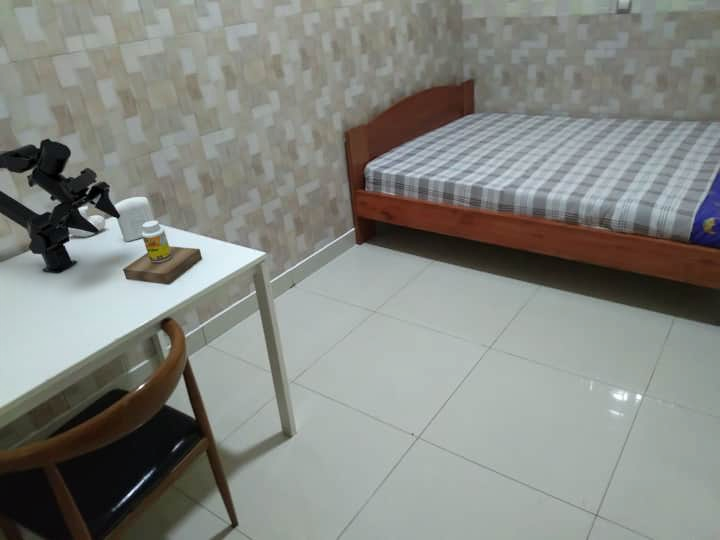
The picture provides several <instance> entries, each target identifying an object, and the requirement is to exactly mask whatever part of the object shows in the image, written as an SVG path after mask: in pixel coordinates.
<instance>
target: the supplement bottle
mask: <svg viewBox="0 0 720 540" xmlns="http://www.w3.org/2000/svg"><path fill="white" fill-rule="evenodd" d="M142 227H143V230H144V231H143V232H142V239H143V243H144V246H145V249H146V251H147V252H146V253H148V255H149V258H150V260H151V261H152V262H154V263H160V262H164V261H166V260H168V259H169V258H170V257H171V251H170V247H169V246H170V244H169V242H168V237H167V234H166V231H165V229H164V227H161V226H160V224H159V221H157V220H155V221H149V222H146V223H144V224H143V225H142Z"/></svg>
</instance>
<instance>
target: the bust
mask: <svg viewBox="0 0 720 540" xmlns="http://www.w3.org/2000/svg"><path fill="white" fill-rule="evenodd" d="M88 209H89V206H88V205H86V206H85V205H84V206H82V207H80V208H79V209H78V210H79V212H80V214H81V215H82V216H83V217H84V218H85V219H86V220H88V221H89V222H90V223H91V224H93V225H94V226H95V227H96V228H97V229H98V230H99V232H100V231H102V230H104V229H105V228H106V219H105V218H104V216H102V215H98V214H97V215H95V214H94V215H90V216H88V214H87V212H86V211H88ZM68 229H69V234H71V235H72V236H75V237H81V238H82V237H83V238H86V237H90V236H93V235H95V234H96V233H92V232H88V231H83V230H79V229H74V228H68Z"/></svg>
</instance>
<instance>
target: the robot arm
mask: <svg viewBox="0 0 720 540" xmlns="http://www.w3.org/2000/svg"><path fill="white" fill-rule="evenodd" d="M71 154H72V151H71V149H70V147H68V146H67V145H66V144H64V143H61V142H59V141H53V140H51V139H50V138H45V139H42V140H41V141H40V143H39V147H37V146H36V145H35V144H27V145H22V146H20V147H17V148H14V149H11V150H0V169H6V170H7V171H8V172H10V173H16V174H23V173H26V172H28V171H31V170H32V172H31V174H29V175H26V178H27V180H28V182H27V183H28V186H29V187H30V188H31V187H32V188H33V187H34V186H36V185H37V186H38V187H40V188H41V189H43V190H44V191H45V192H47V193H48V195H50V197H49V200H51V201H53V202H54V201H56V200H57V201H58V202H59V204H57V205H55V206H54V207H53V209H52V211H46V212H44V213H41V214H40V213H37V212H36V211H34V210H32V209H30V208H29V207H27V206H26V205H24V204H23V203H21V202H19V201H18V200H16V199H15V198H13V197H11V196H10V195H8V194H6V193H5V192H4V191H2V190H0V214H1V215H3V216H5V217H6V218H8V219H10V221H13V222H14V223H16V224H18V225H19V226H21V227H22V228H24V229H26V231H27V235H28V237H29V238H30V243H29V245H28V249H29V250H30V251H31V252H32V254H34V255H41V257H42V259H43V261H44V263H45V265H46V267H44V268H42V271H43V272H47V273H49V272H50V273H56V274H58V273H62V272H63V271H64V270H66V269H68V268H70V267H73V265H75V264H77V263H78V261H77V260H74V259H72V258H71V257H70V255H69V252H68V250H67V248H66V246H65V244H66V243H69V242H70V232H69V229H68V228H74V229H79V230H83V231H88V232H92V233H95V234H98V233H99V232H100V231H99V230H98V229H97V228H96V227H95V226H94V225H93V224H91V223H90V222H89V221H88V220H86V219H85V218H84V217H83V216H82V215H81V214H80V212H79V210H78V209H79V208H80V207H85V205H87V204H90V205H94V208H95V209H97V210H99V211H101V212H103V213H105V214H106V215H109V216H111V217H113V218H116V220H117V219H119V218H120V214H119V213H118V211H117V210H116V208H115V207H114V205H115V204H113V202H112V201H111V198H110V195H109V193H110V192H111V191H110V188H111V185H110V184H108V183H107V182H106V181H99V182H98V181H97V177H98V175H97V174H96V172H95V171H94V170H93V169H91V168H89V167H86V168H84V169H82V170H81V171H80V172H79V173H80V175H78V176H76V177H72V176H69V177H66V176H65V175H64V174H62V173H63V172H64V171H65V169H66V168H67V164H68V162H69V161H70V160H69V159H70V157H71ZM92 184H93V185H92ZM91 185H92V186H91ZM89 186H91V188H89ZM87 192H88V193H87Z"/></svg>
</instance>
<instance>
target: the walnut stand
mask: <svg viewBox="0 0 720 540" xmlns="http://www.w3.org/2000/svg"><path fill="white" fill-rule="evenodd" d="M169 247H170V251H171V257H170V258H169V259H168V260H166V261H164V262H160V263H154V262H152V261H151V260H150V258H149V255H148V252H146V253H145V254H143V255H142V256H140V257H139V258H137V259H136V260H134V261H133V262H131V263H130V264H128V265H126V266H125V267H124V268H123V269H122V271H123V273H124V277H125V280H131V281H140V282H148V283H156V284H162V285H171V284H172V283H173V282H175V281H176V280H177V279H178V278H179V277H181V276H182V275H183V274H185V273H186V272H187V271H188V270H190V269H191V268H192V267H194V266H195V265H197V264H198V262H200V261H202V260H203V257H202V253H201V249H200V248H193V247H184V246H183V247H182V246H172V245H171V246H170V245H169Z"/></svg>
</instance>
